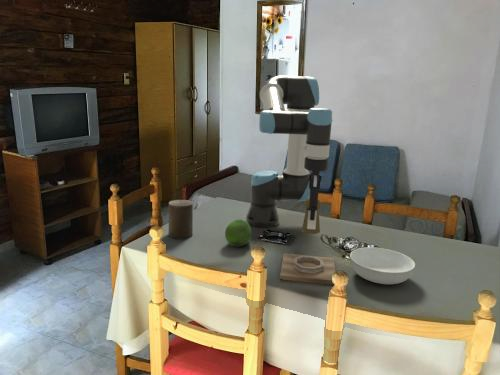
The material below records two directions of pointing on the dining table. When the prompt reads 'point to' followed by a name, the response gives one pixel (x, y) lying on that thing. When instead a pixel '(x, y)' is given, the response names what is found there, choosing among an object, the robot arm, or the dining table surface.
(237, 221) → the fruit
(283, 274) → the socket board
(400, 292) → the dining table surface
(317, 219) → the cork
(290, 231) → the dining table surface
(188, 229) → the pillar candle
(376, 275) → the serving bowl
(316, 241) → the dining table surface
